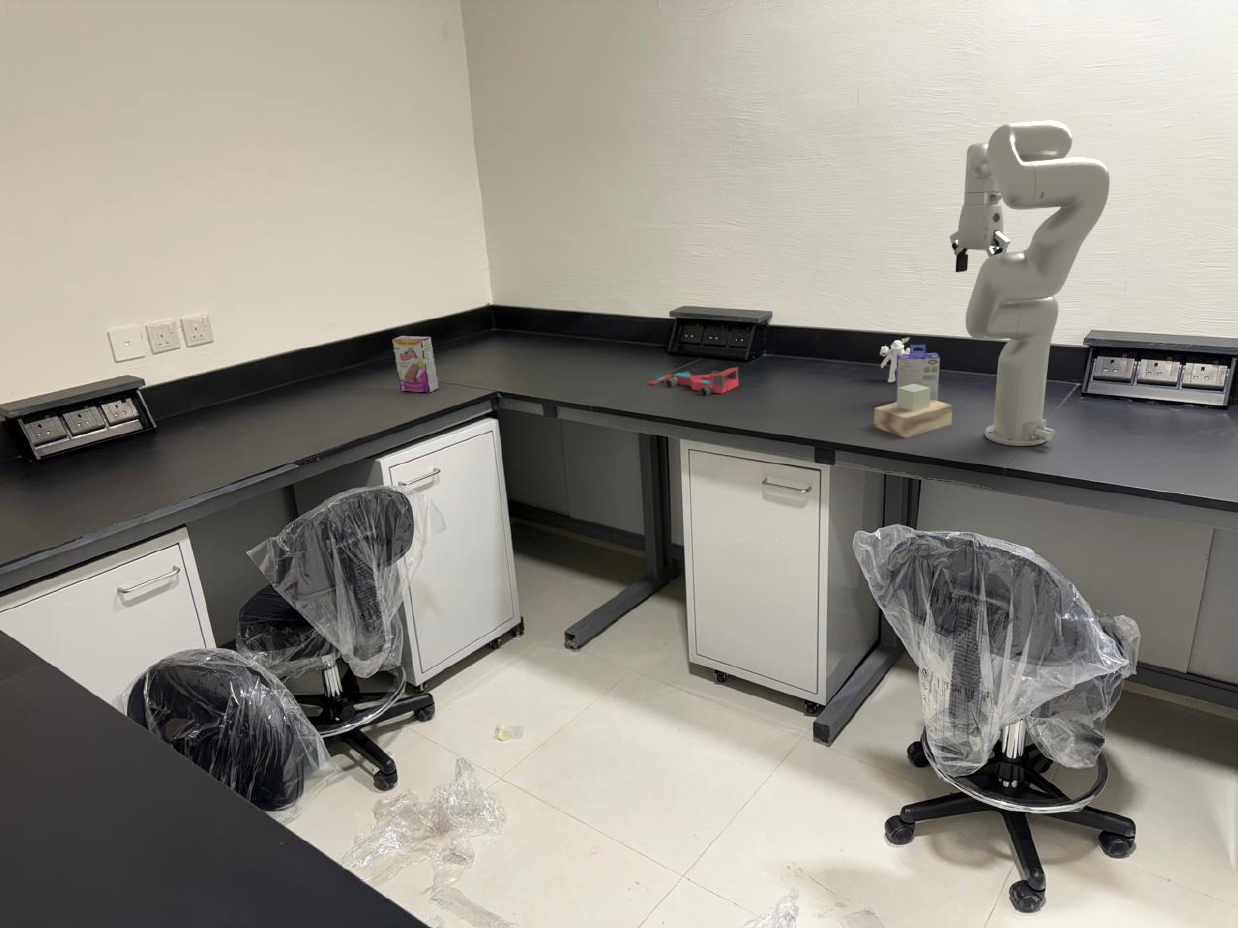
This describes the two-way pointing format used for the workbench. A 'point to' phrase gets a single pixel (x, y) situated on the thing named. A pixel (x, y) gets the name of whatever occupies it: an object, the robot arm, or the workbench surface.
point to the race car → (703, 381)
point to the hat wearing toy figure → (894, 356)
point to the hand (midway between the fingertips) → (976, 273)
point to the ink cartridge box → (918, 370)
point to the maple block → (912, 418)
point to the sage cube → (913, 397)
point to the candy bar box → (415, 363)
